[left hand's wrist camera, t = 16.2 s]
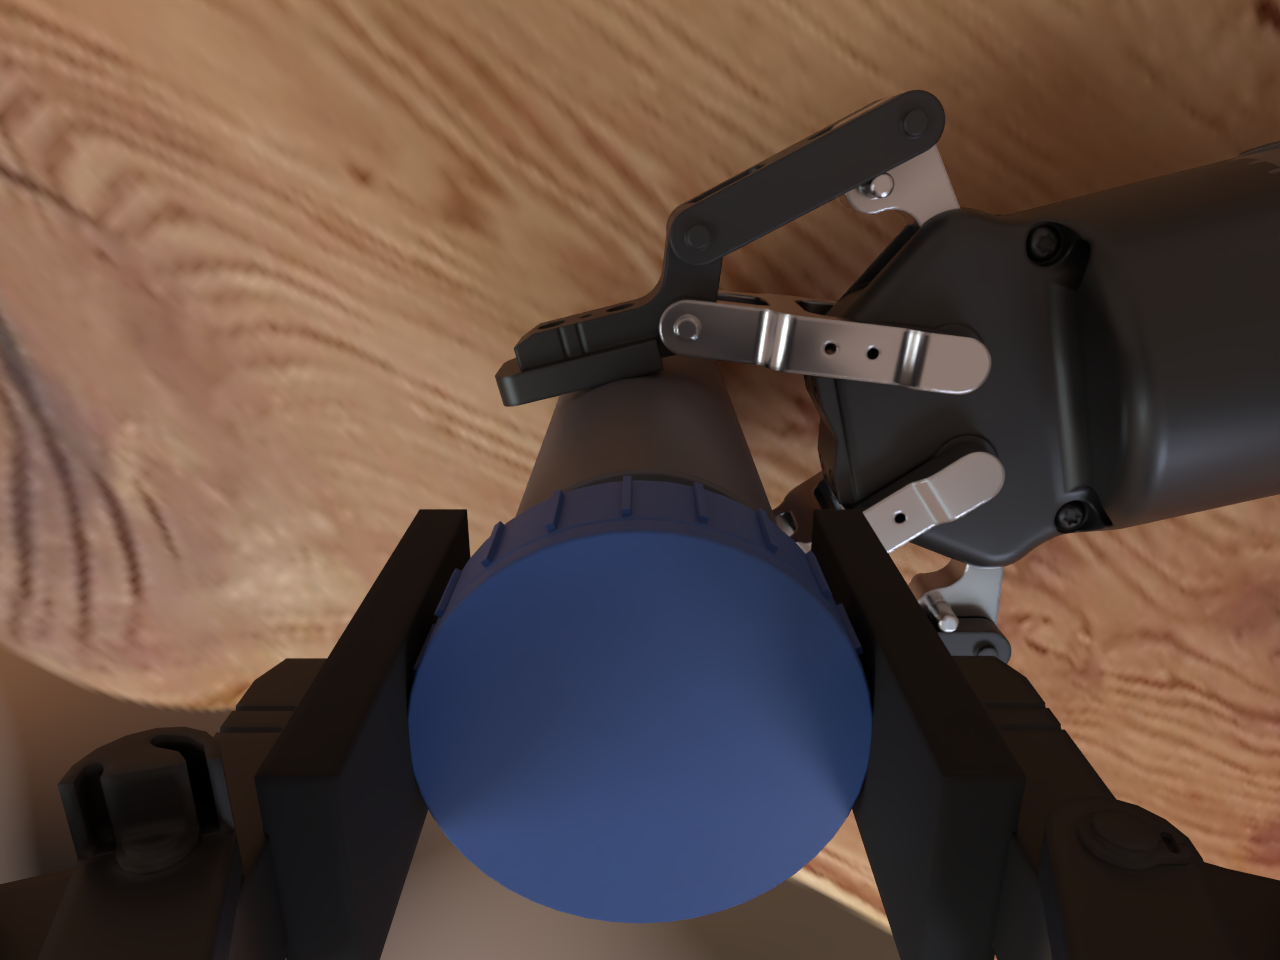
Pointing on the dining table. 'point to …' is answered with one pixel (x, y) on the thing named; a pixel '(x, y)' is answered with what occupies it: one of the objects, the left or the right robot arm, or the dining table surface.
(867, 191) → the right robot arm
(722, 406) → the jar
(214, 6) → the dining table surface
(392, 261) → the dining table surface
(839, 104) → the dining table surface
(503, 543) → the lid
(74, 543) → the dining table surface
